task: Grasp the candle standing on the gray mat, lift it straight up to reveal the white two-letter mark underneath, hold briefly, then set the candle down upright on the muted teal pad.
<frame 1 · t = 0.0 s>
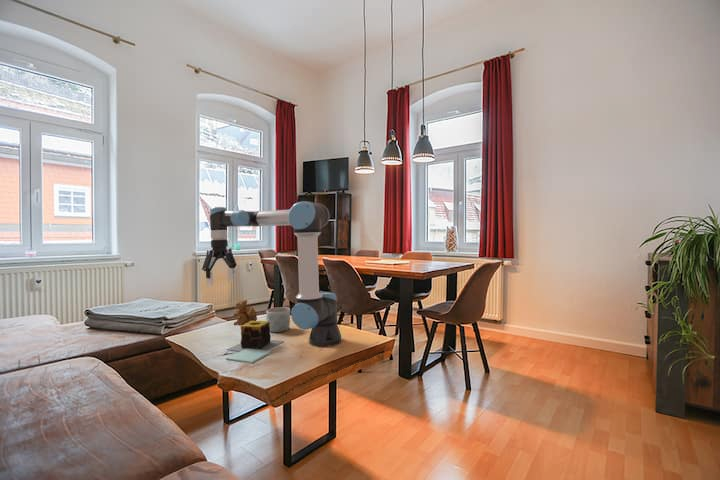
hand: (220, 283, 172), 28 cm above the table, fingers open, 13 cm apart
candle: (256, 345, 164), resting on gray mat
stuffed squirrel: (246, 323, 206), on the table
pad: (249, 355, 150), on the table
gray mat: (256, 345, 164), on the table
planter: (278, 330, 189), on the table
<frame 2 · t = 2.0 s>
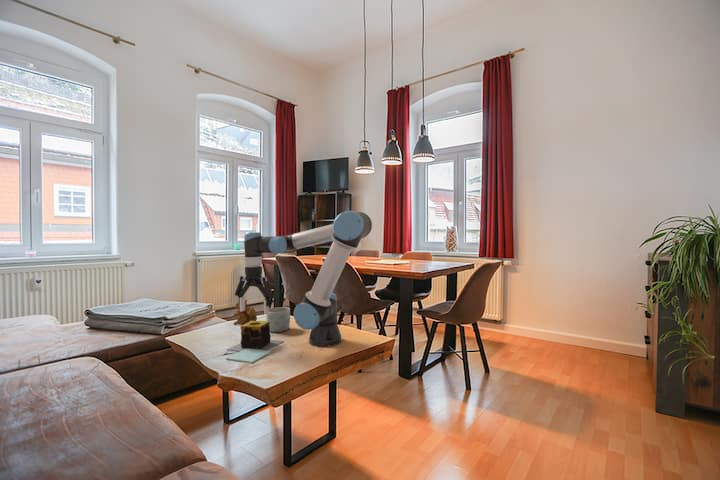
hand: (254, 312, 163), 16 cm above the table, fingers open, 13 cm apart
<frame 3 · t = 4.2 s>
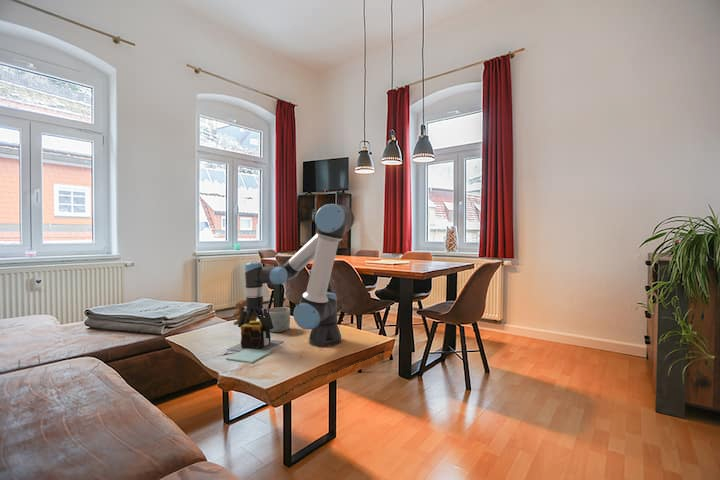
hand: (256, 343, 164), 1 cm above the table, fingers closed on candle, 11 cm apart
candle: (256, 345, 164), resting on gray mat, touching gripper
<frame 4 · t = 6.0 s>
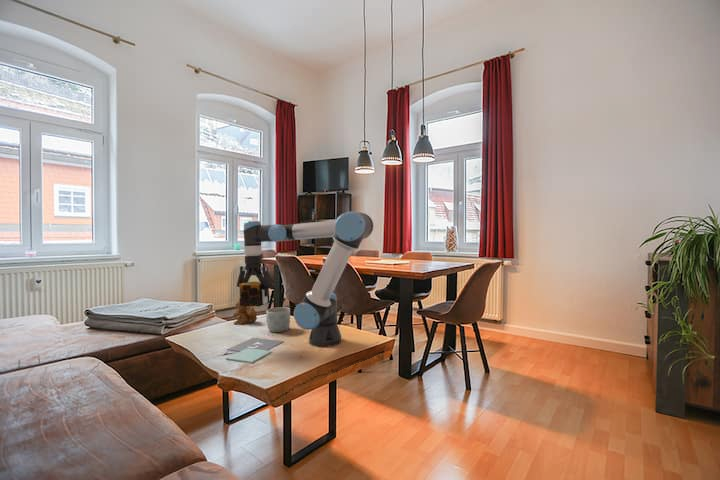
hand: (254, 302, 163), 20 cm above the table, fingers closed on candle, 11 cm apart
candle: (254, 304, 163), point 19 cm above the table, touching gripper
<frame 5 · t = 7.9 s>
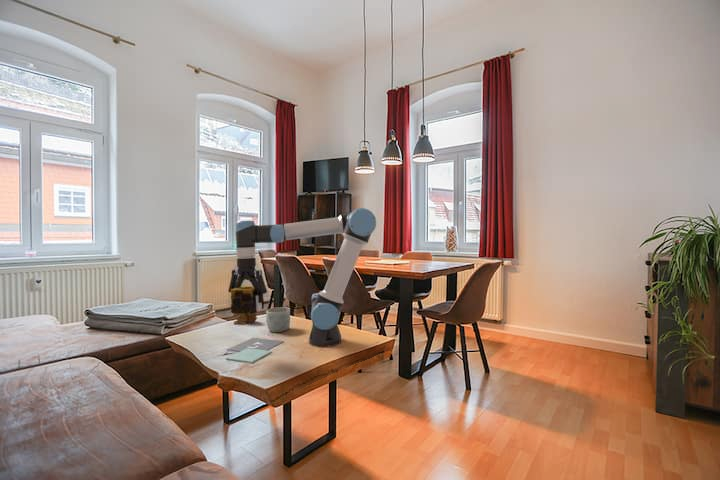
hand: (248, 309, 150), 20 cm above the table, fingers closed on candle, 11 cm apart
candle: (248, 311, 150), point 19 cm above the table, touching gripper
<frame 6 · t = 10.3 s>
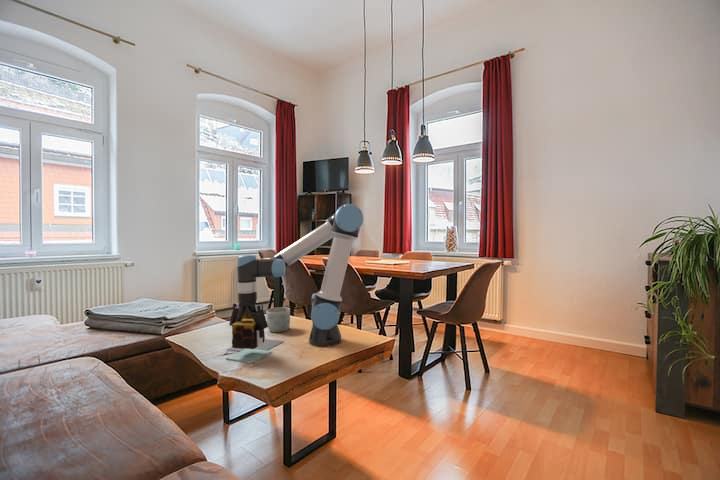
hand: (248, 343, 150), 5 cm above the table, fingers closed on candle, 11 cm apart
candle: (248, 345, 150), point 4 cm above the table, touching gripper
when the fingers open (2 cm above the table, at t = 12.0 s): candle drops 1 cm, resting on pad.
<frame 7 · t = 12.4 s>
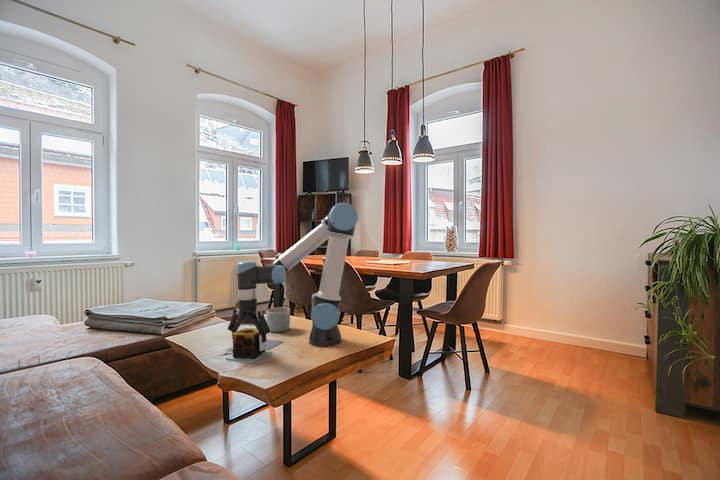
hand: (249, 348, 150), 3 cm above the table, fingers open, 13 cm apart
candle: (249, 355, 150), resting on pad
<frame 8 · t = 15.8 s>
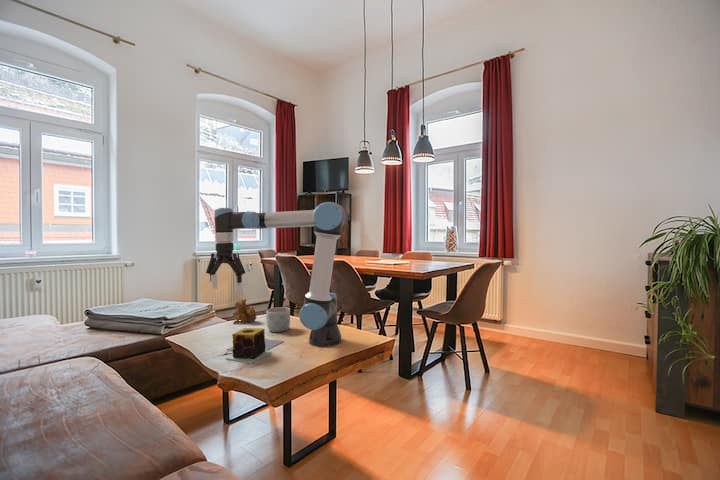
hand: (226, 289, 160), 27 cm above the table, fingers open, 13 cm apart
at the end: candle inside the target area on the pad (0.0 cm from its centre), point 0.4 cm above the pad's base; candle tilted 0°; candle moved 13.4 cm from its start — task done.
